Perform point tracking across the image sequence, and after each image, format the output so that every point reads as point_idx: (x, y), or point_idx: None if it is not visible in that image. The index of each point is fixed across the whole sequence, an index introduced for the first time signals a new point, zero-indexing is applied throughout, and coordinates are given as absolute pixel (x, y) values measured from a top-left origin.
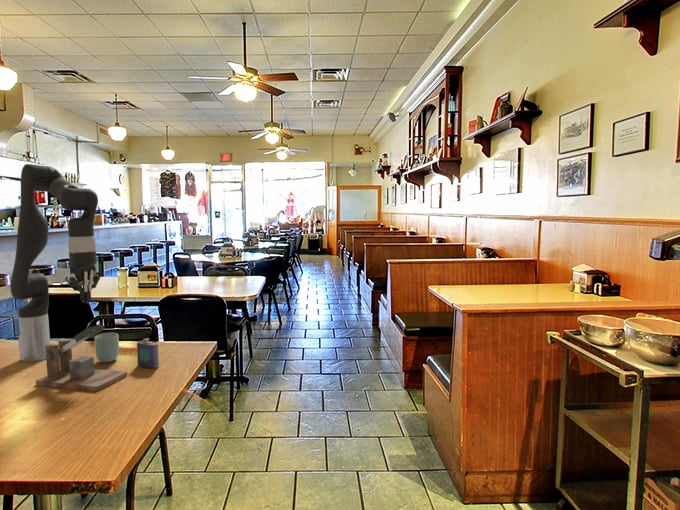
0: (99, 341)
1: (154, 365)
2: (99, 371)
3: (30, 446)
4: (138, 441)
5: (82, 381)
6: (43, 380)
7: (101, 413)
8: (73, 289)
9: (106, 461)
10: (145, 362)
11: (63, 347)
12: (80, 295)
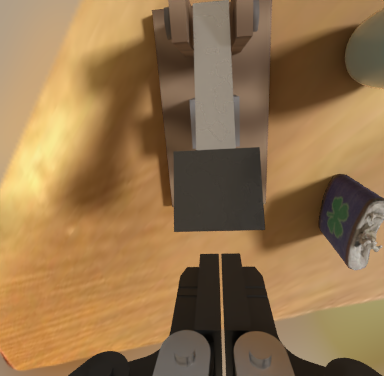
0: (377, 48)
1: (322, 232)
2: (253, 134)
3: (2, 254)
4: (75, 357)
5: (186, 148)
6: (160, 33)
7: (108, 272)
8: (71, 373)
9: (32, 351)
10: (326, 212)
11: (194, 65)
12: (175, 312)
